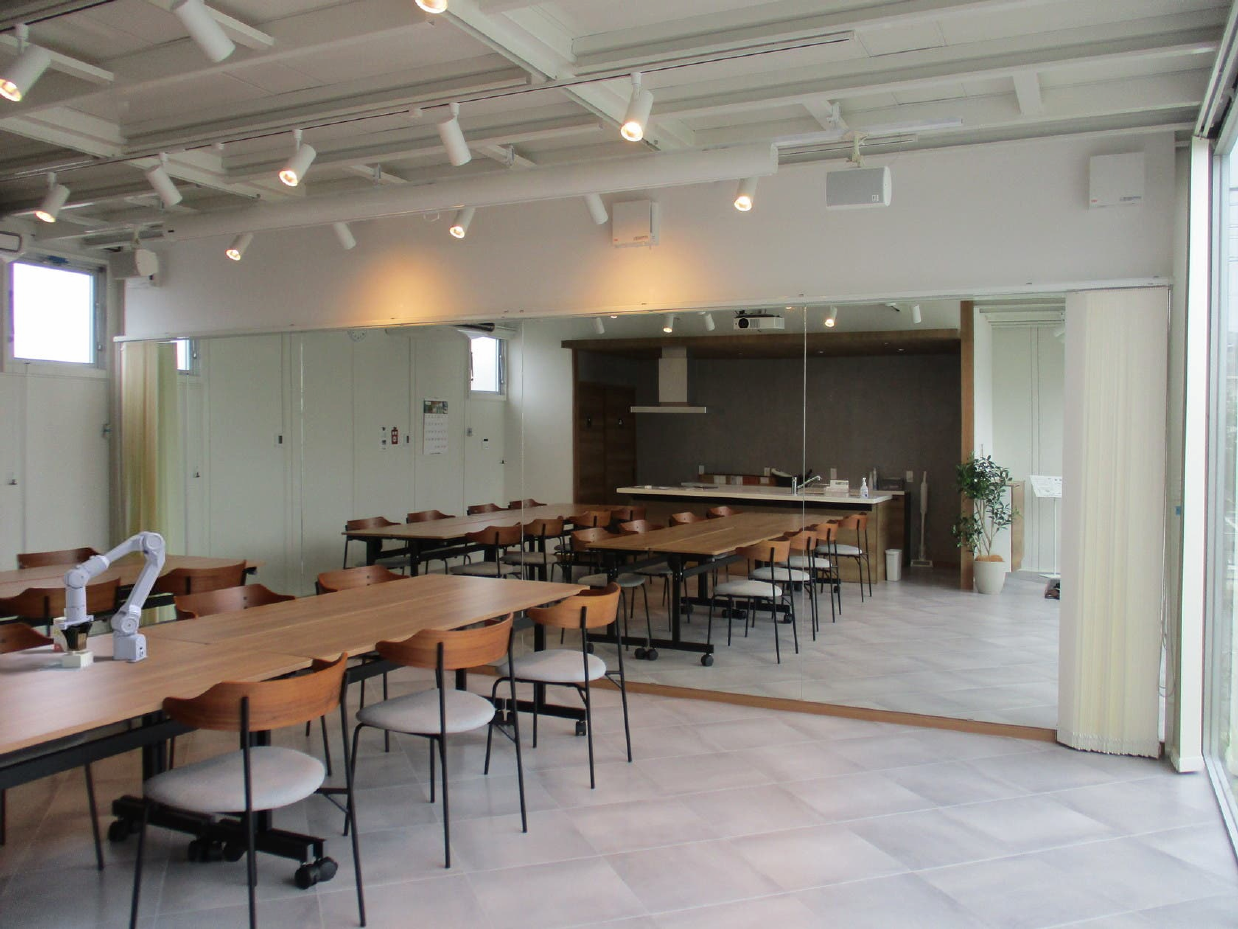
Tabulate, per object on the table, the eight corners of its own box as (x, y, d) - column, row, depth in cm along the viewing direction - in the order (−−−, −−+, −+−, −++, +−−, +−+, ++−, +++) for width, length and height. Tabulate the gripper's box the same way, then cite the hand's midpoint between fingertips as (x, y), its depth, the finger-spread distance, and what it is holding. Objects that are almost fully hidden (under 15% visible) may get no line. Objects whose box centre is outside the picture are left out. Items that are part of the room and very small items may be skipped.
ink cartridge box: (53, 651, 331) (51, 610, 331) (64, 648, 336) (63, 607, 336) (72, 652, 329) (71, 611, 329) (84, 649, 334) (82, 608, 333)
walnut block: (86, 648, 308) (86, 633, 308) (78, 651, 304) (78, 635, 304) (75, 648, 308) (74, 633, 308) (67, 651, 304) (66, 635, 304)
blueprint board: (97, 665, 309) (97, 651, 309) (76, 673, 298) (75, 658, 298) (57, 665, 310) (57, 650, 310) (34, 673, 299) (34, 658, 299)
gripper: (78, 602, 313) (79, 642, 313) (49, 610, 299) (50, 652, 299) (98, 602, 313) (100, 642, 313) (70, 610, 298) (71, 652, 298)
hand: (77, 647), depth 306 cm, fingers closed on walnut block, 4 cm apart
